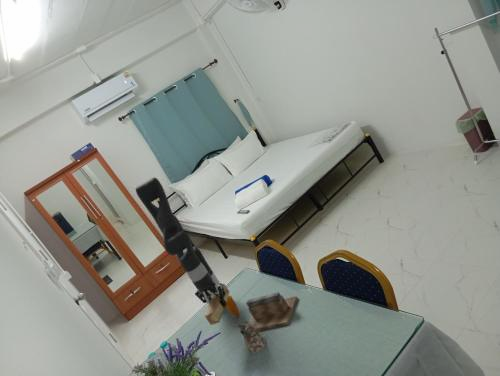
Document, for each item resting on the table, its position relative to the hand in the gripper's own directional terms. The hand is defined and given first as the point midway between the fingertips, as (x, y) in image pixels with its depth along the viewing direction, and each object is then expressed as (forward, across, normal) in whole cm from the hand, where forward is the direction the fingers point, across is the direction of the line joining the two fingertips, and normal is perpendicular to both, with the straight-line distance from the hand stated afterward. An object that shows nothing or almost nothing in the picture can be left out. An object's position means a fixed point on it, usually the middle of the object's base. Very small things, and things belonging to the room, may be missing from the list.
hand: (220, 306), depth 188 cm
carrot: (+16, +6, -13) cm, 21 cm away
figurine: (+16, -14, +10) cm, 23 cm away
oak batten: (+1, 0, 0) cm, 1 cm away
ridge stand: (+16, -15, -8) cm, 23 cm away
